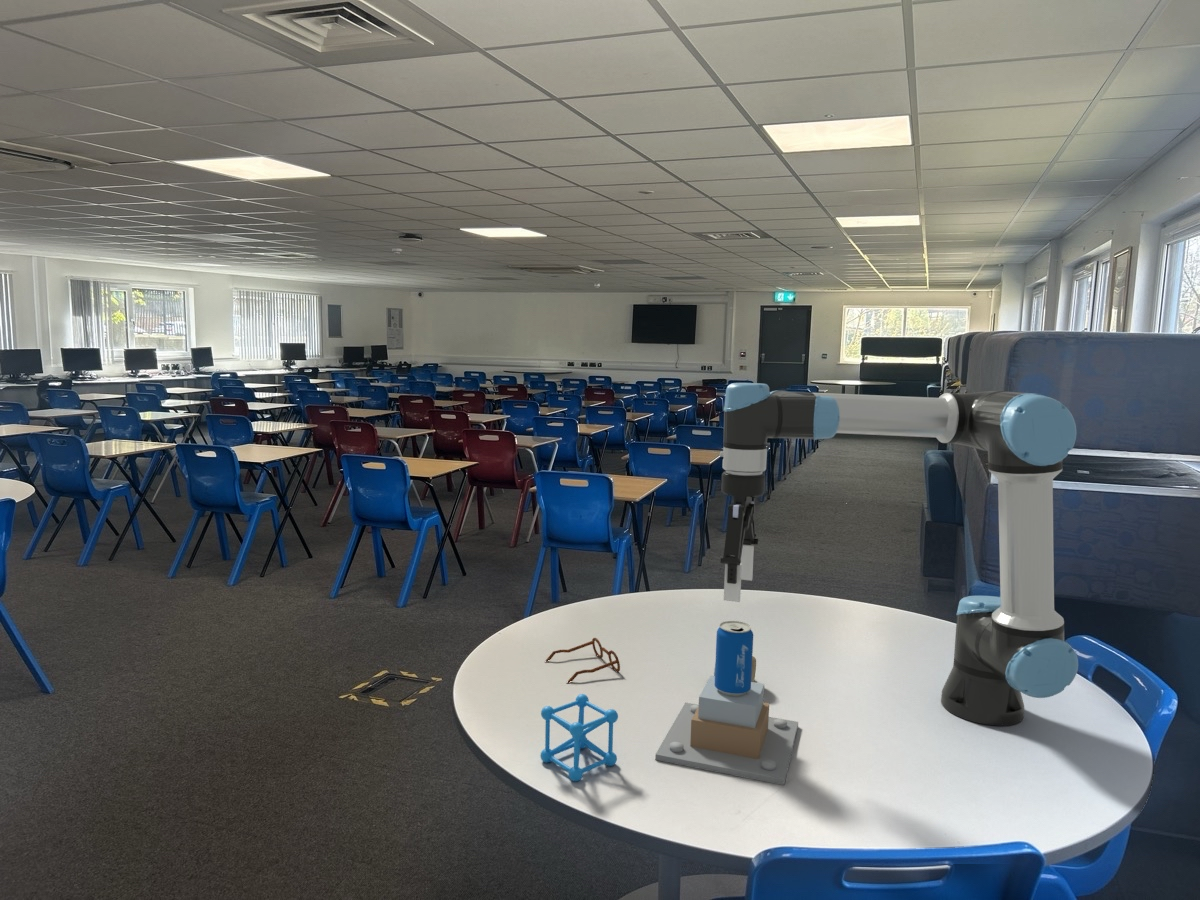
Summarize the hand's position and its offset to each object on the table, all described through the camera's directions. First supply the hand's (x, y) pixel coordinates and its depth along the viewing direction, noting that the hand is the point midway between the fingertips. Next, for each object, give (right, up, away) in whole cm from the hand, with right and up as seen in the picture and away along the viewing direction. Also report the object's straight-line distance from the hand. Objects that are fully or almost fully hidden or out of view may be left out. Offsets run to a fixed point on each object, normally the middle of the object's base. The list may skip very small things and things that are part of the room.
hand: (738, 589), depth 142 cm
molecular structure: (-28, -29, -5) cm, 41 cm away
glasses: (-29, -24, +36) cm, 52 cm away
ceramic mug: (+4, -25, +29) cm, 39 cm away
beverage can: (-1, -19, +2) cm, 19 cm away
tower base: (-1, -28, +3) cm, 29 cm away
